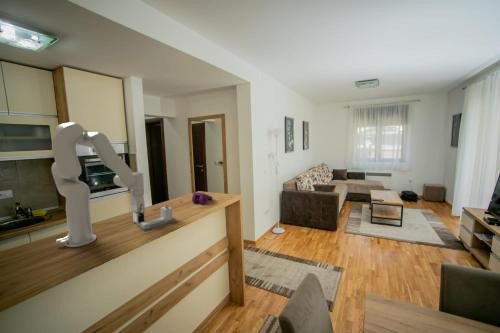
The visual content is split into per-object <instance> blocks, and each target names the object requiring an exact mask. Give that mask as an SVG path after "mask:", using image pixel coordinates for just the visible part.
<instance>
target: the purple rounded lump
mask: <svg viewBox="0 0 500 333" xmlns="http://www.w3.org/2000/svg"><path fill="white" fill-rule="evenodd" d="M209 199H210V200H211V201H213V196H211V195H208V194H206V193H203V192H202V193H201V192H196V191H195V192H193V193H192V198H191V203H192V204H200V205H203V206H204V205H206V204H207V202H208V200H209ZM210 200H209V201H210Z"/></svg>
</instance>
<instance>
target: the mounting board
mask: <svg viewBox="0 0 500 333" xmlns="http://www.w3.org/2000/svg"><path fill="white" fill-rule="evenodd" d="M176 222H177V219H176V218H175V217H173V208H172V207H170V206H168V205H166V206H162V207H160V217H158V218H155V219H151V220H148V221H145V222H143V223H140V224H137V223H136V225H137V227H138V229H140V230H142V231H144V232H146V231H151V230H154V229H157V228H160V227H164V226H166V225H170V224H172V223H176Z"/></svg>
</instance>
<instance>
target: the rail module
mask: <svg viewBox="0 0 500 333" xmlns="http://www.w3.org/2000/svg"><path fill="white" fill-rule="evenodd" d="M139 211H141V210H139ZM140 213H141V212H140ZM138 216H139V214H138V212H135V211H134V210H132V219H133V221H132V222H133V223H134V224H136V225H137V224H140V223H143V222H146V219H145V215H144V221H143V222H140V223H139V222H138Z"/></svg>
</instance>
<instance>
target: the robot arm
mask: <svg viewBox="0 0 500 333" xmlns="http://www.w3.org/2000/svg"><path fill="white" fill-rule="evenodd" d="M77 145H80V146H83V147H87V148H92V150H93V151H94V153H95V154H96V156H97V157H98V159H99V160H100V162H101V163H102V165H104V166H105V167H107V168H109V169H110V170H111V171H112V172H113V173H114V174H115V176H114V177H113V178H112V179H113V183H114V184H115V185H116V186H118V187H121V188H124V189H125V188H126V189H129V191H130V209H131V210H132V211H135V212H138V214H139V216H138V222H139V223H140V222H143V221H144V216H145V210H146V206H145V205H146V204H145V199H144V197H145V186H144V185H145V181H144V173H143V172H141V171H136V172H133V170H132V169H131V168H130V167H129V166H128V164H127V163H126V162H125V161H124V160H123V159H122V158H121V157H120V156H119V155H118V153H117V151H116V150H115V148H114V146H113V145H112V143H111V141H110V139H109V138H108V137H107V135H106V134H104V133H103V132H100V131H99V132H98V131H90V130H87V129H85V128H84V127H83V126H82V125H81V124H79V123H77V122H65V123H63V122H62V123H61V124H58V125H57V126H56V129H55V135H54V136H53V138H52V142H51V150H52V154H53V158H54V162H53V163H52V165H51V167H50V168H51V169H50V170H51V175H52V177H53V180H54V183H55V186H56V189H57V191H58V193H59V194H60V195H61V196H62V197H65V214H66V221H67V222H66V223H67V232H68V233H67V234H66V236H65V237H63V238H57V239H56V241H55V242H56V244H61V245H62V244H64V245H65V246H66V247H68V248H78V247H83V246H86V245H88V244H89V245H90V244H91V243H93V242H95V241H96V240H97V234H93V227H92V226H93V225H92V215H91V206H90V205H91V204H90V202H91V201H90V199H91V189H90V187H89V185H88V184H87V183H85V182H84V181H81V180H79V177H80V175H81V174H82V165H81V163H80V161H79V160H80V159H79V157H78V153H77V148H76V146H77ZM139 210H141V211H139ZM140 212H141V213H140Z"/></svg>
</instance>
